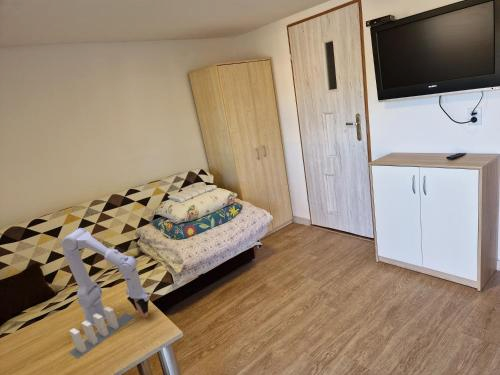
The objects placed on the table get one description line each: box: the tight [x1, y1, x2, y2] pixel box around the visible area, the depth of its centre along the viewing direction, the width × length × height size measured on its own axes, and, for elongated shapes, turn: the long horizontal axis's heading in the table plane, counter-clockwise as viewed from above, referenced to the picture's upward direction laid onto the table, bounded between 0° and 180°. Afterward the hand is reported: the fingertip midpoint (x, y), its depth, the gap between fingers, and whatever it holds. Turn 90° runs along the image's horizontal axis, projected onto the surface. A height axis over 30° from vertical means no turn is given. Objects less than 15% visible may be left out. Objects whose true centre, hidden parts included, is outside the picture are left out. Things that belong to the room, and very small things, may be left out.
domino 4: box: [103, 306, 119, 329], centre depth 149 cm, size 5×2×9 cm, turn 53°
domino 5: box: [134, 298, 149, 319], centre depth 153 cm, size 5×2×9 cm, turn 53°
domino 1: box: [69, 327, 86, 353], centre depth 138 cm, size 5×2×9 cm, turn 53°
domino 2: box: [80, 320, 98, 345], centre depth 141 cm, size 5×2×9 cm, turn 53°
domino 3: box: [93, 313, 109, 337], centre depth 145 cm, size 5×2×9 cm, turn 53°
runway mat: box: [68, 312, 136, 360], centre depth 146 cm, size 8×27×1 cm, turn 143°
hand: (142, 310), depth 154 cm, fingers closed on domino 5, 5 cm apart
